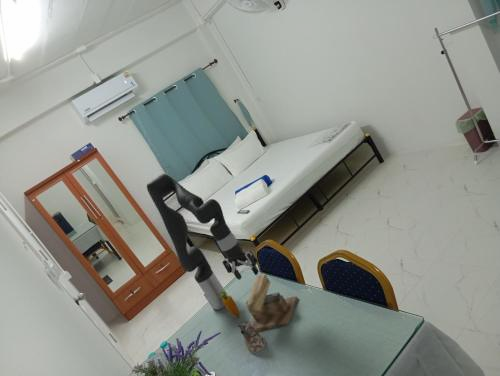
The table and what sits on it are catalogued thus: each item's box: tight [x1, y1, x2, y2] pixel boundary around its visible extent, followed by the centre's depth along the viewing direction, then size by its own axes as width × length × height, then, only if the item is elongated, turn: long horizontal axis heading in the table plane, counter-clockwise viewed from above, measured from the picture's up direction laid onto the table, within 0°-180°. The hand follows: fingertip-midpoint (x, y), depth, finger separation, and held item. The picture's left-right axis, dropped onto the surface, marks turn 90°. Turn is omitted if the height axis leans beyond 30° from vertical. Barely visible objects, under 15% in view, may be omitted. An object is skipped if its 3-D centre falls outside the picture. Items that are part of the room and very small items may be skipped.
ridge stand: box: [245, 291, 299, 332], centre depth 190 cm, size 20×16×10 cm
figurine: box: [237, 321, 266, 354], centre depth 176 cm, size 7×7×12 cm
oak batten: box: [246, 273, 271, 315], centre depth 188 cm, size 4×20×5 cm, turn 164°
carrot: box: [219, 290, 240, 318], centre depth 204 cm, size 5×5×15 cm
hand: (248, 276), depth 186 cm, fingers open, 8 cm apart
